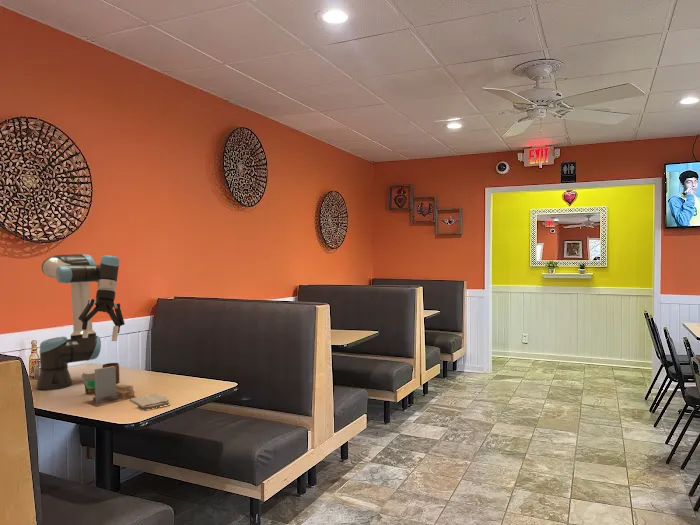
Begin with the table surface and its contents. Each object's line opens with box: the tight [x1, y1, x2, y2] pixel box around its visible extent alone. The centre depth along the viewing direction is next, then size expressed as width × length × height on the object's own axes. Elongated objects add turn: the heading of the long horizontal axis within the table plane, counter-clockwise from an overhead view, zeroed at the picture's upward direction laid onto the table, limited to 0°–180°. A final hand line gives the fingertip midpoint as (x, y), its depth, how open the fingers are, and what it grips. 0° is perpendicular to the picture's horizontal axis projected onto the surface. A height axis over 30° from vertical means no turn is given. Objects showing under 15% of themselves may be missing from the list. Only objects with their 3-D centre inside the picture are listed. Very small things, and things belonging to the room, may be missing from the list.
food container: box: [81, 372, 95, 395], centre depth 238 cm, size 12×6×10 cm, turn 105°
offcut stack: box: [116, 383, 135, 399], centre depth 230 cm, size 5×8×5 cm
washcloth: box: [129, 393, 170, 411], centre depth 221 cm, size 12×18×3 cm, turn 41°
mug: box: [101, 362, 120, 384], centre depth 259 cm, size 12×8×9 cm, turn 41°
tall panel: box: [94, 366, 117, 403], centre depth 224 cm, size 8×2×14 cm, turn 141°
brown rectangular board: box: [82, 394, 137, 408], centre depth 225 cm, size 18×12×3 cm, turn 142°
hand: (99, 339), depth 224 cm, fingers open, 13 cm apart
